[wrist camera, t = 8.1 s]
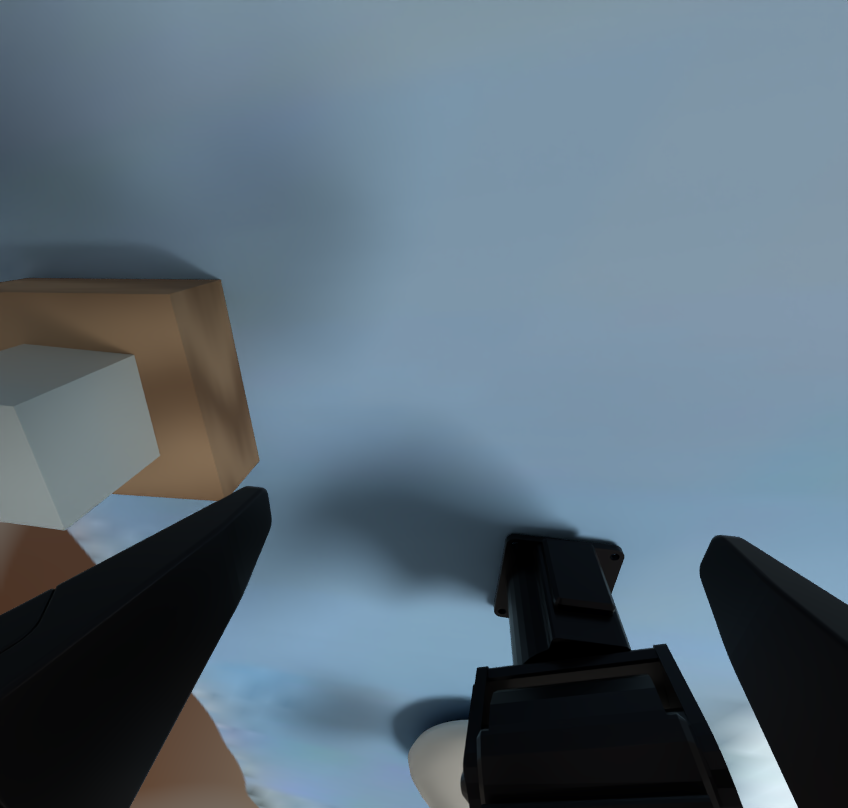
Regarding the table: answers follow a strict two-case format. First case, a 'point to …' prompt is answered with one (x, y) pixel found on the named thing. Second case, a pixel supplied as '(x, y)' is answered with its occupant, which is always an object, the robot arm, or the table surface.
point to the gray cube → (68, 432)
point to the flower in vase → (440, 764)
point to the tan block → (154, 368)
